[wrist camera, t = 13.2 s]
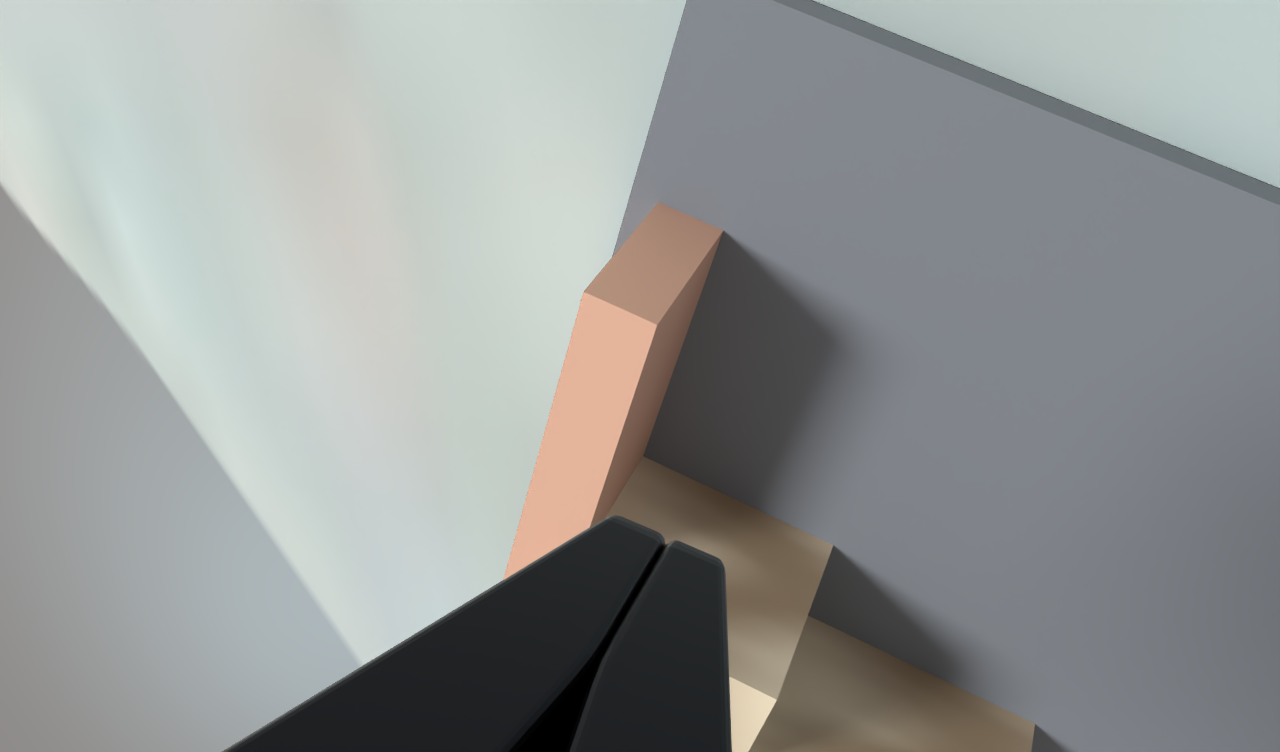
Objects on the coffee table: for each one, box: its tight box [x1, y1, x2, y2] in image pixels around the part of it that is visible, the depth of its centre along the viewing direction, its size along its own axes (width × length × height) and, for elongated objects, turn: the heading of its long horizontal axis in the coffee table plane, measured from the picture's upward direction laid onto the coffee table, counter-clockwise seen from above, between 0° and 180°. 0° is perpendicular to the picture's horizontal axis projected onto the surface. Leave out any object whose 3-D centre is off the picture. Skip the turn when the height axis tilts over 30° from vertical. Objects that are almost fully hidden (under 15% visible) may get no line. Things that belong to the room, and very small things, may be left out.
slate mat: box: [612, 0, 1280, 752], centre depth 23 cm, size 17×19×1 cm
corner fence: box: [504, 202, 723, 579], centre depth 23 cm, size 14×15×3 cm
